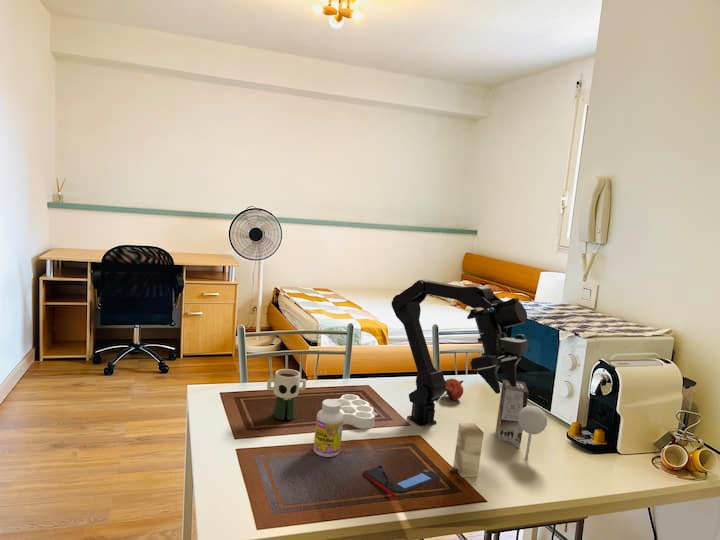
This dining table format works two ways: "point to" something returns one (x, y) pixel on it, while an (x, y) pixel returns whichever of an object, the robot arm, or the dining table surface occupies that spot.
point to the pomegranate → (454, 389)
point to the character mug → (286, 392)
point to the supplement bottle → (328, 429)
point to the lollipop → (532, 422)
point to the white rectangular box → (468, 450)
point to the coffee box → (511, 412)
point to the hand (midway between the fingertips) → (506, 389)
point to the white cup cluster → (357, 411)
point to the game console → (405, 486)
